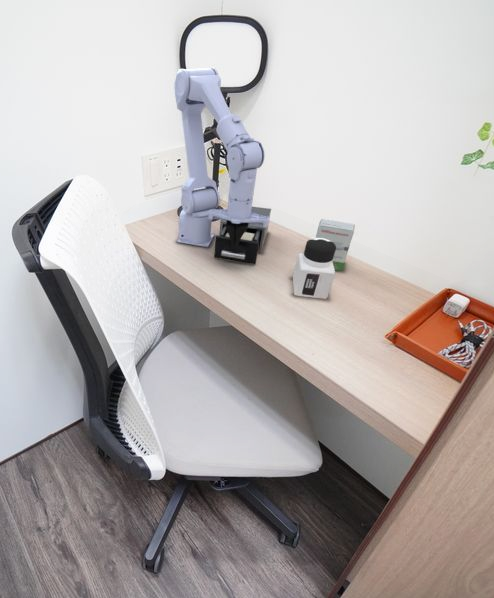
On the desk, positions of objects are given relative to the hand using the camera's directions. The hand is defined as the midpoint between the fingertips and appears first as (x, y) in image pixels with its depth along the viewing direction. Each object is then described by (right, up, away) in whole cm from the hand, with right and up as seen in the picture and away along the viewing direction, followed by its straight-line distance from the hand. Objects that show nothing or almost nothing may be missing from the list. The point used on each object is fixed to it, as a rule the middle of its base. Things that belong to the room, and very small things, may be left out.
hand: (234, 247), depth 93 cm
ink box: (+26, -4, +6) cm, 27 cm away
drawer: (+2, -1, +8) cm, 8 cm away
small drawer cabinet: (+5, +5, +17) cm, 18 cm away
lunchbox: (+2, +1, +8) cm, 8 cm away
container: (+18, -11, -4) cm, 21 cm away
